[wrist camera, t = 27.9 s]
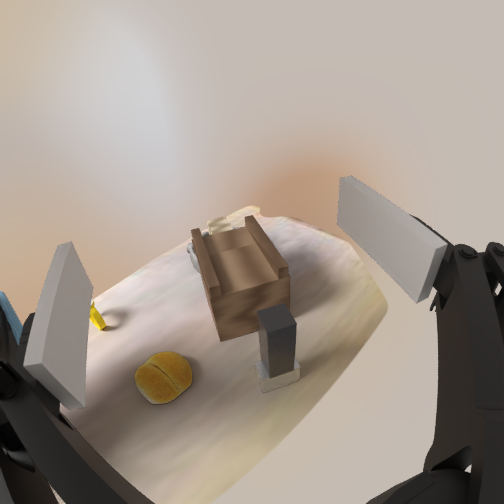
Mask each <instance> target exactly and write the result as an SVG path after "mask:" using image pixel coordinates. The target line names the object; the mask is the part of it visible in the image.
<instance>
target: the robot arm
mask: <svg viewBox="0 0 504 504" xmlns="http://www.w3.org/2000/svg"><path fill="white" fill-rule="evenodd" d="M337 225H338V226H339V227H340V228H341V229H342V230H343V231H344V232H345V233H347V234H348V235H349V236H350V237H351V238H352V239H353V240H354V241H355V242H356V243H357V244H358V245H359V246H360V247H361V248H362V249H363V250H364V251H365V252H366V253H367V254H368V255H369V256H370V257H371V258H373V259H374V260H375V261H376V262H377V263H378V264H379V265H380V266H381V267H382V268H383V269H384V270H385V271H386V272H387V273H388V274H389V276H391V277H392V278H393V280H394V281H396V283H397V284H398V285H399V286H400V287H401V288H402V289H403V290H404V291H405V292H406V293H407V294H408V295H409V296H410V297H411V298H412V299H413V300H414V301H415V303H418V302H420V301H422V300H424V299H426V298H428V297H429V294H430V292H431V289H432V287H434V288H435V289H436V290H437V293H436V295H435V297H434V300H433V302H432V304H431V307H430V311H432V310H433V307H434V306H435V305H436V310H435V312H436V315H437V331H438V398H437V413H436V426H435V435H434V441H433V444H432V446H431V448H430V450H429V452H428V454H427V456H426V459H425V463H424V468H423V472H422V473H420V474H418V475H416V476H414V477H412V478H410V479H408V480H406V481H404V482H402V483H400V484H398V485H395V486H394V487H392V488H390V489H389V490H387V491H385V492H384V493H382V494H380V495H378V496H377V497H375V498H373V499H371V500H370V501H368V502H367V503H366V504H504V246H503V245H502V244H499V243H495V242H490V243H489V244H488V245H487V248H486V251H485V252H482V253H478V252H477V251H476V250H475V249H473V248H472V247H470V246H467V245H464V244H458V245H455V246H454V245H452V244H451V243H450V242H449V241H448V240H446V239H445V238H444V237H442V236H441V235H440V234H439V233H437V232H436V231H435V230H433V229H432V228H431V227H429V226H428V225H426V224H425V223H424V222H422V221H421V220H420V219H419V218H417V217H414V216H412V215H410V214H408V213H407V212H405V211H404V210H402V209H401V208H400V207H398V206H397V205H395V204H394V203H392V202H391V201H390V200H388V199H387V198H385V197H383V196H382V195H381V194H379V193H378V192H376V191H375V190H373V189H372V188H370V187H369V186H367V185H366V184H364V183H363V182H361V181H359V180H358V179H356V178H355V177H353V176H348V177H342V178H340V185H339V201H338V214H337ZM499 283H500V285H501V287H502V288H501V290H500V292H499V294H498V295H497V294H496V293H495V290H496V288H497V286H498V284H499ZM92 293H93V286H92V284H91V282H90V280H89V278H88V276H87V274H86V272H85V269H84V267H83V265H82V263H81V261H80V259H79V257H78V255H77V252H76V250H75V248H74V245H73V243H72V241H71V242H68V243H64V244H61V245H58V246H57V249H56V252H55V254H54V257H53V260H52V262H51V265H50V268H49V271H48V274H47V277H46V280H45V283H44V286H43V289H42V292H41V295H40V299H39V302H38V306H37V309H36V312H35V313H31V314H30V315H29V316H28V318H27V319H26V321H25V323H24V325H23V326H22V324H21V322H20V320H19V318H18V317H17V315H16V313H15V311H14V310H13V308H12V306H11V304H10V302H9V301H8V299H7V297H6V295H5V293H4V292H2V291H0V504H59V503H58V501H57V499H56V497H55V495H54V493H53V491H52V489H51V487H50V485H51V486H52V487H53V489H54V490H55V491H56V492H57V494H58V495H59V496H60V497H61V498H62V500H63V501H64V502H65V503H66V504H155V503H153V502H152V501H151V500H150V499H148V498H147V497H146V496H145V495H143V494H142V493H141V492H140V491H138V490H137V489H136V488H135V487H134V486H133V485H131V484H130V483H129V482H128V481H127V480H126V479H125V478H123V477H122V476H121V475H120V474H119V473H118V472H117V471H116V470H115V469H114V468H113V467H111V466H110V465H109V464H108V463H107V462H106V461H105V460H104V459H103V458H102V457H101V456H100V455H99V454H98V453H97V452H96V451H95V450H94V449H93V447H92V446H91V445H90V444H89V443H88V442H87V441H86V440H85V439H84V438H83V437H82V436H81V434H80V433H79V432H78V431H77V430H76V429H75V428H74V426H73V425H72V424H71V423H70V422H69V421H68V419H67V418H66V417H65V416H64V415H63V414H62V413H61V412H60V411H59V410H60V403H61V404H63V405H64V406H65V407H66V408H67V409H68V410H70V409H78V408H86V358H87V341H88V329H89V318H90V309H91V301H92ZM471 464H472V467H471V473H468V472H465V470H466V468H467V467H468V466H469V465H471ZM48 482H49V483H50V485H49V483H48Z"/></svg>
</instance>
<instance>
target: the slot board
mask: <svg viewBox="0 0 504 504" xmlns="http://www.w3.org/2000/svg"><path fill="white" fill-rule="evenodd" d="M245 225H246V226H245V227H241V228H237V229H233V230H229V231H225V232H220V233H216V234H212V235H208V236H204V237H202V235H201V232H200V229H199V228H197V229H193V230H191V233H192V237H193V239H192V243H193V247H194V251H195V254H196V257H197V261H198V264H199V268H200V272H201V277H202V281H203V285H204V289H205V293H206V297H207V301H208V304H209V307H210V310H211V313H212V317H213V320H214V323H215V326H216V329H217V332H218V335H219V338H220V341H221V342H222V341H225V340H229V339H232V338H235V337H239V336H242V335H246V334H249V333H252V332H255V331H258V322H257V312H256V311H259V310H262V309H265V308H269V307H272V306H275V305H278V304H282V303H285V304H286V306H287V308H288V310H289V311H290V276H289V274H288V265H287V263H286V262H285V261H284V259H283V258H282V256H281V255H280V253H279V252H278V251H277V249H276V248H275V246H274V245H273V243H272V242H271V241H270V239H269V238H268V236H267V235H266V234H265V232H264V231H263V229H262V228H261V226H260V225H259V224H258V222H257V221H256V219H255V218H254V217H253V215H251V216H247V217H245Z"/></svg>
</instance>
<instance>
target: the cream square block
mask: <svg viewBox="0 0 504 504" xmlns="http://www.w3.org/2000/svg"><path fill="white" fill-rule="evenodd" d="M228 223H229V222H228V220H227V218H226V216H225V217H221V218H217V219H213V220H209V221H207V224H208V230H209V235H211V230H210V228H211V227H215V226H219V225H224V224H228Z"/></svg>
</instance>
